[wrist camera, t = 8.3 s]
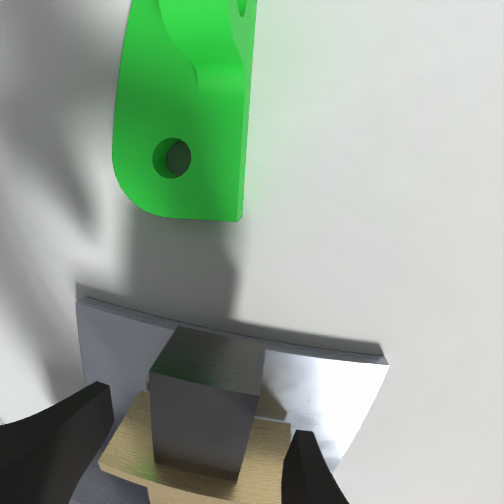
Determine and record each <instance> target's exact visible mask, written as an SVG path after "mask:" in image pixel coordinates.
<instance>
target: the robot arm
mask: <svg viewBox="0 0 504 504" xmlns="http://www.w3.org/2000/svg"><path fill="white" fill-rule="evenodd" d="M114 420H115V418H114V412H113V406H112V399H111V392H110V385H107V384H104V383H101V382H99V381H95V382H94V383H92V384H90V385H88V386H87V387H85V388H83V389H82V390H80V391H78V392H76V393H75V394H73V395H71V396H70V397H68V398H66V399H64V400H62V401H61V402H59V403H57V404H55V405H53V406H51V407H49V408H47V409H45V410H43V411H41V412H39V413H37V414H35V415H32V416H30V417H27V418H24V419H22V420H19V421H16V422H12V423H9V424H5V425H1V426H0V504H69V502H70V499H71V497H72V495H73V493H74V491H75V488H76V486H77V484H78V482H79V480H80V479H81V477H82V475H83V474H84V472H85V471H86V469H87V468H88V466H89V464H90V463H91V461H92V460H93V458H94V457H95V455H96V454H97V452H98V451H99V449H100V448H101V446H102V444H103V443H104V441H105V440H106V438H107V436H108V434H109V431H110V429H111V427H112V425H113V423H114ZM281 504H349V502H348V501H347V499H346V498H345V496H344V495H343V493H342V492H341V490H340V488H339V487H338V485H337V483H336V481H335V479H334V478H333V476H332V474H331V472H330V470H329V468H328V466H327V464H326V462H325V459H324V457H323V455H322V452H321V450H320V448H319V445H318V443H317V440H316V437H315V434H314V433H313V431H305V430H296V431H295V434H294V436H293V439H292V441H291V444H290V446H289V449H288V451H287V453H286V456H285V458H284V461H283V470H282V479H281Z"/></svg>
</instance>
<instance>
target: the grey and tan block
mask: <svg viewBox="0 0 504 504" xmlns="http://www.w3.org/2000/svg"><path fill="white" fill-rule="evenodd" d="M265 349H266V344H265V343H260V342H254V341H249V340H244V339H239V338H234V337H229V336H224V335H219V334H214V333H210V332H205V331H200V330H196V329H192V328H187V327H183V326H179V325H178V327H177V328H176V330H175V331H174V333H173V334H172V336H171V337H170V339H169V340H168V342H167V343H166V345H165V347H164V348H163V350H162V351H161V353H160V354H159V356H158V357H157V359H156V360H155V362H154V364H153V365H152V367H151V368H150V370H149V391H150V393H147V392H143V391H140V393H139V394H138V396H137V398H136V399H135V401H134V403H133V404H132V406H131V407H130V409H129V411H128V412H127V414H126V416H125V417H124V419H123V421H122V422H121V424H120V425H119V427H118V429H117V430H116V432H115V434H114V435H113V437H112V439H111V440H110V442H109V444H108V445H107V447H106V449H105V450H104V452H103V454H102V455H101V457H100V459H99V460H98V463H99V466H100V469H101V470H102V471H105V472H107V473H110V474H112V475H115V476H117V477H120V478H123V479H125V480H128V481H131V482H133V483H136V484H139V485H142V486H145V487H147V489H148V495H149V500H150V504H281V479H282V470H283V461H284V458H285V456H286V453H287V451H288V449H289V446H290V444H291V423H284V422H277V421H270V420H264V419H258V418H254V417H255V413H256V409H257V405H258V401H259V397H260V390H261V382H262V374H263V366H264V357H265Z"/></svg>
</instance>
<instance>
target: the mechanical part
mask: <svg viewBox="0 0 504 504" xmlns="http://www.w3.org/2000/svg"><path fill="white" fill-rule="evenodd" d="M256 7H257V0H132V4H131V9H130V13H129V18H128V23H127V28H126V33H125V39H124V45H123V51H122V57H121V63H120V70H119V78H118V86H117V95H116V104H115V115H114V128H113V143H112V161H113V168H114V172H115V175H116V178H117V180H118V183H119V185H120V187H121V188H122V190H123V191H124V193H125V194H126V195H127V197H128V198H129V199H130V200H131V201H132V202H133V203H134V204H136V205H137V206H138V207H140V208H141V209H143V210H145V211H147V212H149V213H151V214H154V215H157V216H161V217H169V218H185V219H200V220H214V221H228V222H237V221H238V220H239V219H240V218H241V217H242V212H243V196H244V179H245V163H246V147H247V132H248V117H249V102H250V87H251V73H252V59H253V46H254V33H255V20H256ZM179 141H184V142H185V143H186V144H187V145H188V147H189V149H190V152H191V162H190V165H189V167H188V169H187V171H186V172H185V173H184V174H183V175H181V176H179V177H178V176H176V175H174V174H173V173H172V172H171V171H170V170H169V168H168V166H167V162H166V158H167V153H168V151H169V149H170V148H171V147H172V146H173V145H174V144H175V143H177V142H179Z"/></svg>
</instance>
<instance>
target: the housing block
mask: <svg viewBox="0 0 504 504" xmlns="http://www.w3.org/2000/svg"><path fill="white" fill-rule="evenodd" d="M76 314H77V324H78V333H79V342H80V350H81V357H82V363H83V370H84V376H85V381H86V387H87V386H88V385H90V384H92V383H94V382H95V381H99V382H101V383H104V384H107V385H110V392H111V399H112V406H113V412H114V418H115V420H114V423H113V425H112V427H111V429H110V431H109V434H108V436H107V438H106V440H105V441H104V443H103V444H102V446H101V448H100V449H99V451H98V452H97V454H96V455H95V457H94V458H93V460H92V461H91V463H90V464H89V466H88V468H87V469H86V471H85V472H84V474H83V475H82V477H81V479H80V480H79V482H78V484H77V486H76V488H75V491H74V493H73V495H72V497H71V499H70V502H69V504H150V500H149V495H148V489H147V487H145V486H142V485H139V484H136V483H133V482H131V481H128V480H125V479H123V478H120V477H117V476H115V475H112V474H110V473H107V472H105V471H102V470H101V469H100V466H99V463H98V460H99V459H100V457H101V455H102V454H103V452H104V450H105V449H106V447H107V445H108V444H109V442H110V440H111V439H112V437H113V435H114V434H115V432H116V430H117V429H118V427H119V425H120V424H121V422H122V421H123V419H124V417H125V416H126V414H127V412H128V411H129V409H130V407H131V406H132V404H133V403H134V401H135V399H136V398H137V396H138V394H139V393H140V391H143V392H147V393H150V391H149V370H150V368H151V367H152V365H153V364H154V362H155V360H156V359H157V357H158V356H159V354H160V353H161V351H162V350H163V348H164V347H165V345H166V343H167V342H168V340H169V339H170V337H171V336H172V334H173V333H174V331H175V330H176V328H177V327H178V325H179V326H183V327H187V328H192V329H196V330H200V331H205V332H210V333H214V334H219V335H224V336H229V337H234V338H239V339H244V340H249V341H254V342H260V343H265V344H266V349H265V357H264V366H263V374H262V382H261V390H260V397H259V401H258V405H257V409H256V413H255V417H254V418H258V419H264V420H270V421H277V422H284V423H291V441H292V439H293V436H294V434H295V431H296V430H305V431H313V433H314V434H315V437H316V440H317V443H318V445H319V448H320V450H321V452H322V455H323V457H324V459H325V462H326V464H327V466H328V468H329V470H330V472H331V474H332V473H333V472H334V470H335V469H336V467H337V465H338V464H339V462H340V460H341V459H342V457H343V455H344V454H345V452H346V450H347V449H348V447H349V445H350V443H351V442H352V440H353V438H354V436H355V434H356V433H357V431H358V429H359V427H360V425H361V423H362V422H363V420H364V418H365V416H366V414H367V412H368V410H369V408H370V406H371V404H372V402H373V400H374V398H375V396H376V394H377V392H378V390H379V387H380V385H381V383H382V381H383V379H384V377H385V374H386V372H387V370H388V368H389V364H388V362H387V360H386V358H385V356H378V355H368V354H360V353H351V352H343V351H336V350H328V349H321V348H314V347H307V346H301V345H295V344H288V343H282V342H276V341H271V340H265V339H260V338H254V337H249V336H244V335H238V334H233V333H228V332H223V331H219V330H214V329H209V328H205V327H200V326H196V325H191V324H187V323H182V322H178V321H174V320H170V319H166V318H162V317H158V316H154V315H150V314H146V313H142V312H138V311H134V310H131V309H127V308H123V307H120V306H116V305H112V304H109V303H105V302H102V301H99V300H95V299H92V298H88V297H85V296H84V297H83V298H81V299H80V300H78V301H77V302H76Z"/></svg>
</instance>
